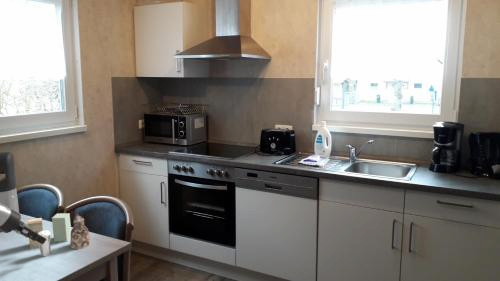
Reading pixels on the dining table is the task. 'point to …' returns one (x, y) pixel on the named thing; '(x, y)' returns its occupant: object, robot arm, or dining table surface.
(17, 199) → the robot arm
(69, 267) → the dining table surface
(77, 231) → the figurine
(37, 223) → the beech block
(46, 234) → the milkshake
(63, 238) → the sage block
